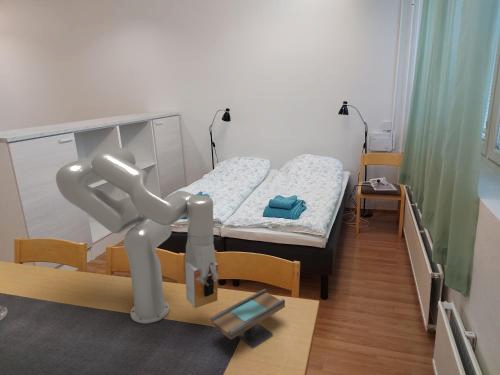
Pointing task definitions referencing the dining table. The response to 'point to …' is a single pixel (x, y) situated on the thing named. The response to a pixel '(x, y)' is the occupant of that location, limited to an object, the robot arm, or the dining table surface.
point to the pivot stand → (255, 335)
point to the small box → (198, 287)
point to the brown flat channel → (246, 313)
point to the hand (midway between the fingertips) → (201, 289)
